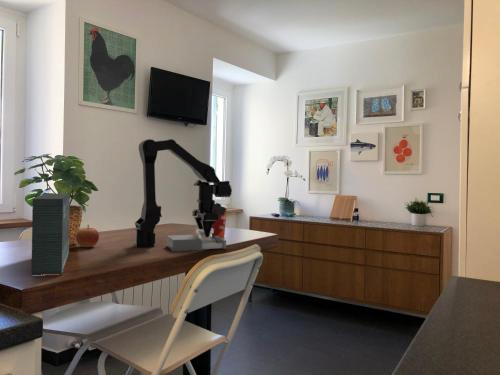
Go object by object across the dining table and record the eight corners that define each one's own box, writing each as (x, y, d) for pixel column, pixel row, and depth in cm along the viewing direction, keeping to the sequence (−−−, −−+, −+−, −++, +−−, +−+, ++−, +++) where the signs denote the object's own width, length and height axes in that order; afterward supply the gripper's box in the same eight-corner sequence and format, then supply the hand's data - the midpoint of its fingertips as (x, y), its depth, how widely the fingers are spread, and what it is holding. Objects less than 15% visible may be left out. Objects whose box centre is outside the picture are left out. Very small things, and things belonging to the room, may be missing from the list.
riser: (201, 243, 161) (201, 234, 161) (198, 241, 164) (198, 233, 164) (210, 243, 162) (210, 234, 162) (207, 241, 166) (208, 233, 166)
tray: (198, 249, 146) (198, 241, 146) (191, 244, 156) (191, 236, 156) (227, 248, 150) (227, 240, 150) (218, 243, 160) (218, 236, 160)
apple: (85, 244, 151) (85, 223, 151) (103, 246, 149) (103, 224, 149) (70, 248, 143) (70, 225, 143) (89, 249, 141) (89, 226, 141)
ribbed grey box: (45, 255, 130) (45, 193, 129) (68, 254, 132) (69, 193, 132) (31, 277, 103) (32, 198, 102) (61, 275, 105) (62, 198, 105)
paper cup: (225, 238, 176) (226, 206, 175) (208, 237, 176) (209, 205, 175) (227, 235, 183) (228, 205, 183) (210, 235, 184) (211, 204, 183)
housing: (172, 251, 142) (173, 240, 142) (167, 246, 153) (167, 235, 153) (201, 250, 146) (202, 239, 146) (194, 245, 157) (194, 234, 156)
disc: (198, 234, 159) (198, 230, 159) (194, 232, 165) (194, 228, 165) (215, 234, 161) (215, 230, 161) (210, 231, 168) (210, 227, 168)
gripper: (232, 198, 157) (231, 238, 158) (217, 196, 175) (216, 232, 175) (204, 198, 153) (203, 239, 153) (192, 196, 170) (191, 232, 171)
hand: (204, 235), depth 163 cm, fingers closed on disc, 7 cm apart
